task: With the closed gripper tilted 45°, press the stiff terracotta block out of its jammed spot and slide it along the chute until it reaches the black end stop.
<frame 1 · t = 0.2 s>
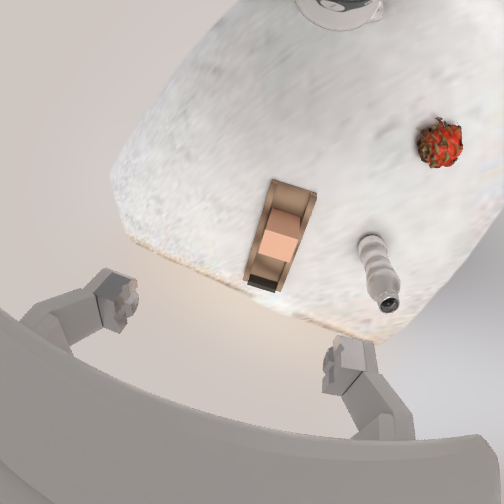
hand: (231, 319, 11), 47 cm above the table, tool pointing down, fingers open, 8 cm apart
jammed block: (280, 233, 54), point 6 cm above the table, slide at 0.0 cm
chute: (277, 236, 61), on the table
plastic bottle: (370, 244, 58), on the table
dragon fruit: (434, 140, 44), on the table
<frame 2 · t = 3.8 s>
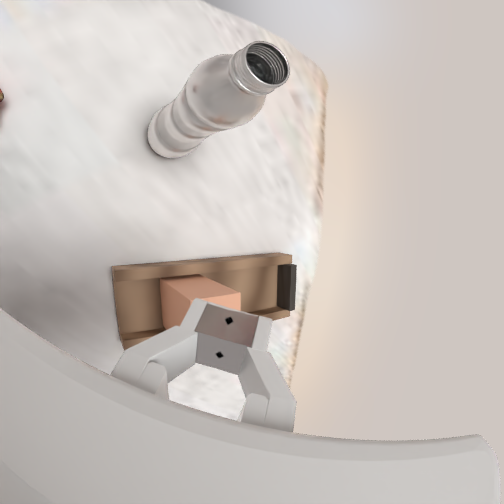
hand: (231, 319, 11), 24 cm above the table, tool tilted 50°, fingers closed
jammed block: (196, 311, 29), point 6 cm above the table, slide at 0.0 cm
chute: (206, 293, 37), on the table
plastic bottle: (169, 136, 31), on the table
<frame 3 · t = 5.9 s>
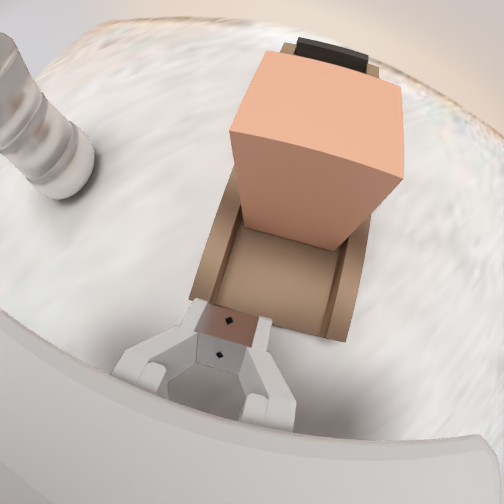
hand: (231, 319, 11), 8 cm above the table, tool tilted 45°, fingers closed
jammed block: (309, 166, 14), point 6 cm above the table, slide at 0.0 cm
chute: (307, 165, 21), on the table
plastic bottle: (75, 175, 22), on the table
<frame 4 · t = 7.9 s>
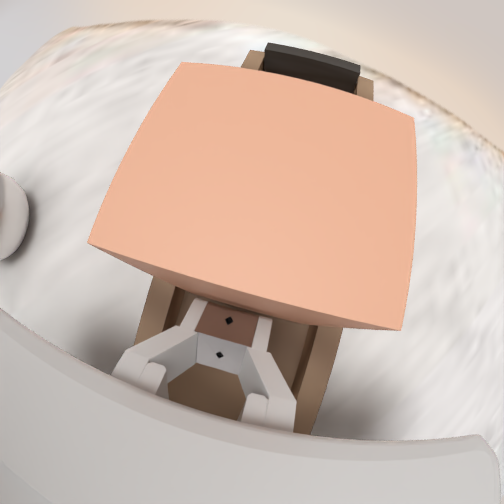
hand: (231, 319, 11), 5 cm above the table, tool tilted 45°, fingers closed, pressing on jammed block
jammed block: (263, 235, 10), point 6 cm above the table, slide at 1.4 cm, touching gripper
chute: (270, 225, 17), on the table
plastic bottle: (15, 226, 17), on the table
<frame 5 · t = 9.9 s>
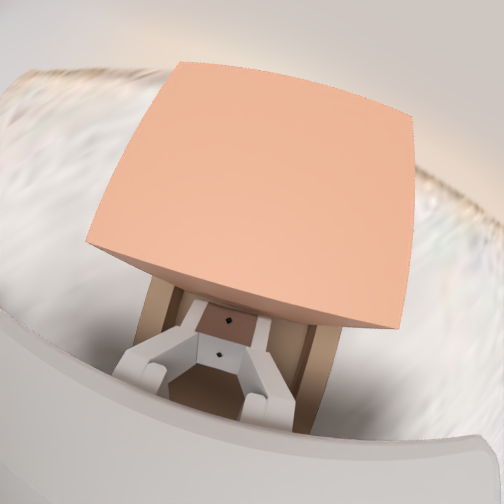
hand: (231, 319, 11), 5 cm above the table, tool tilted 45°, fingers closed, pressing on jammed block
jammed block: (262, 234, 10), point 6 cm above the table, slide at 11.1 cm, touching gripper
chute: (224, 386, 14), on the table
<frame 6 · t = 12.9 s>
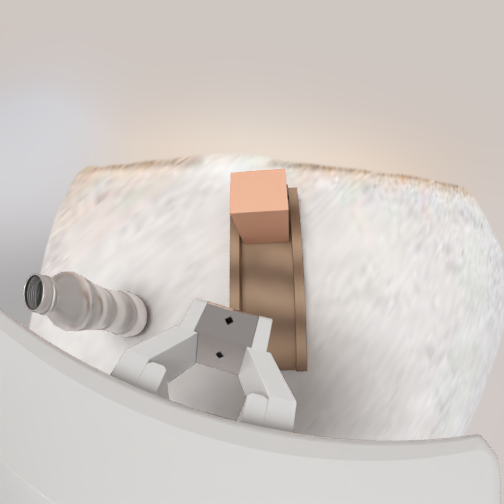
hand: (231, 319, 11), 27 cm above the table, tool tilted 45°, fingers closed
jammed block: (262, 210, 34), point 6 cm above the table, slide at 11.3 cm
chute: (268, 279, 38), on the table
plastic bottle: (134, 315, 39), on the table
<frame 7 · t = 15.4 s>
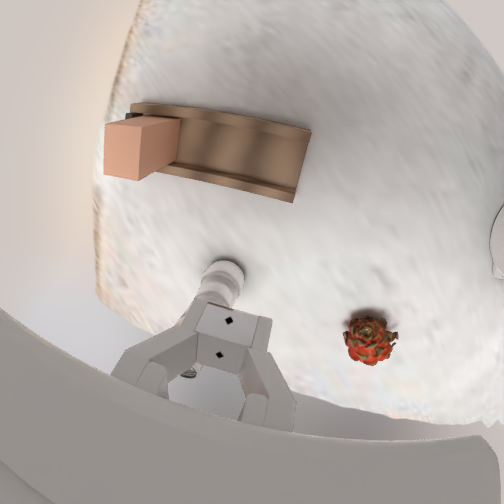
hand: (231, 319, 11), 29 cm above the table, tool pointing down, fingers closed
jammed block: (143, 143, 31), point 6 cm above the table, slide at 11.3 cm
chute: (214, 143, 36), on the table
plastic bottle: (227, 271, 46), on the table
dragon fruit: (369, 326, 47), on the table
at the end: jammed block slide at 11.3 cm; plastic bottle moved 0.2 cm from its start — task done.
